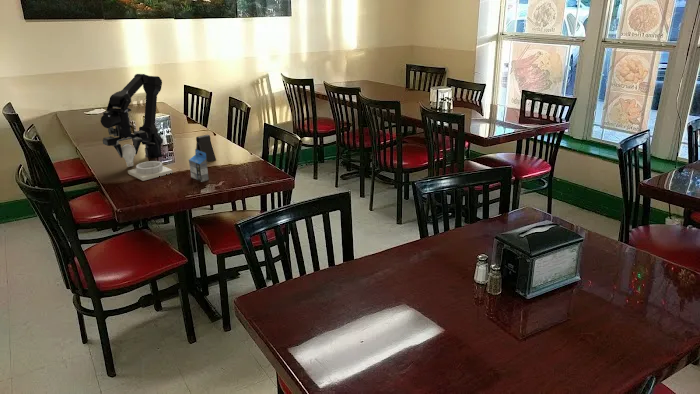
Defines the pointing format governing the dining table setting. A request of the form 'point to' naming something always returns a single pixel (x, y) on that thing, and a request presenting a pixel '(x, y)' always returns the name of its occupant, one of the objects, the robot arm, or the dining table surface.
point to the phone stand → (205, 147)
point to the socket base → (149, 176)
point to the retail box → (199, 166)
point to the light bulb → (128, 154)
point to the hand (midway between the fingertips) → (128, 155)
